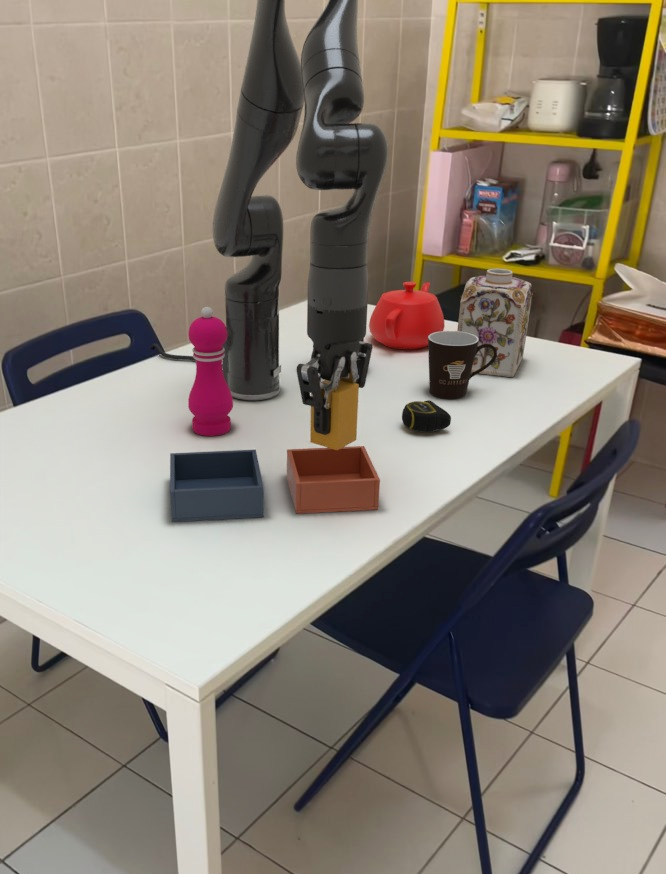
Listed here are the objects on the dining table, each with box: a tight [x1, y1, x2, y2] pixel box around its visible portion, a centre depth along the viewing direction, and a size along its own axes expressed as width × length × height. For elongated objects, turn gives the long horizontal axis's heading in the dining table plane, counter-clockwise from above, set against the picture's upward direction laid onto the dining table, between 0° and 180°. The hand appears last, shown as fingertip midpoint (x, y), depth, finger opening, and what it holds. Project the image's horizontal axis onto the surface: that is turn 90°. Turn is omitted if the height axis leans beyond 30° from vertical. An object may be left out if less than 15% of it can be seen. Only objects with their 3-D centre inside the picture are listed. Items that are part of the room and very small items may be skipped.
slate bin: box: [169, 449, 265, 523], centre depth 121 cm, size 12×12×4 cm
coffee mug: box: [427, 330, 497, 400], centre depth 154 cm, size 12×9×10 cm
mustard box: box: [309, 379, 360, 450], centre depth 117 cm, size 4×4×8 cm
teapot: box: [368, 281, 446, 350], centre depth 181 cm, size 25×16×12 cm, turn 153°
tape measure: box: [401, 399, 452, 433], centre depth 142 cm, size 7×7×4 cm
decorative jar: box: [456, 268, 534, 378], centre depth 165 cm, size 12×12×18 cm
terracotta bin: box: [286, 445, 381, 515], centre depth 122 cm, size 11×11×4 cm
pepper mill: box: [187, 306, 234, 437], centre depth 138 cm, size 7×7×20 cm
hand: (333, 426), depth 118 cm, fingers closed on mustard box, 4 cm apart
